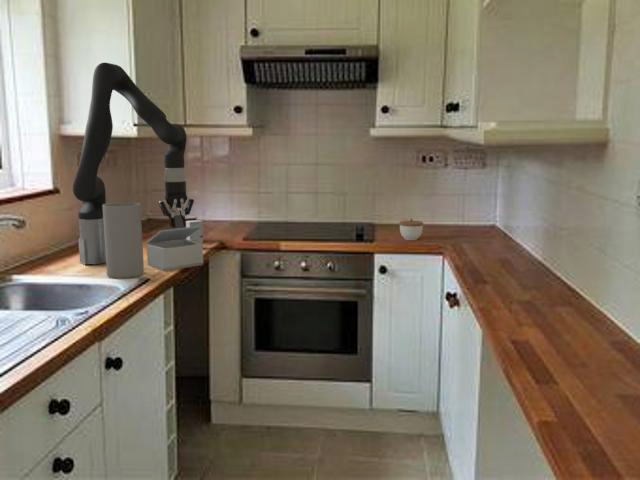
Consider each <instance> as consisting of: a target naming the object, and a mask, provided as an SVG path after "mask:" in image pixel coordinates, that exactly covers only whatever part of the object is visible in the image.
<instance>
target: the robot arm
mask: <svg viewBox="0 0 640 480" xmlns="http://www.w3.org/2000/svg"><path fill="white" fill-rule="evenodd" d="M94 68H95V69H94V70H93V75H92V83H91V84H92V86H91V97H90V103H89V109H88V115H87V120H86V121H87V122H86V125H85V131H84V137H83V143H82V148H81V154H80V157H79V158H80V159H79V164H78V168H77V170H76V174H75V178H74V181H73V185H72V192H73V195H74V197H75V198H76V199H77V200H78V201H80V202H82V205H81V207H80V209H79V210H78V213H77V214H78V226H79V227H78V229H79V238H78V241H77V242H78V254H79V263H80V262H82V263H84V264H93V265H101V263H102V264H105V263H106V251H105V236H104V220H103V204H107V202H106V201H107V200H106V198H107V197H106V187H105V183H104V181H103V179H102V178H100V176H98V173H99V172H98V171H99V167H100V164H101V162H102V161H103V159H104V156H105V155H106V153H107V151H108V149H109V148H110V147H109V146H110V144H111V140H112V135H113V129H114V128H113V126H114V124H113V120H112V119H113V118H112V114H111V98H112V94H113V91H115V92H117V93H118V94H120V95H121V96H122V97H124V98H125V100H127V101H128V103H130V105H131V107H132V109H133V110H134V112H135V113H136V114H137V115H138V117H140V119H142V120H143V122H145V123H146V124H147V125H148V126H149V127H150V128H151V129H152V131H153V132H154V133H155V135H156V136H157V137H158V139H160V141H162V142H163V143H164V144H166V145H168V150H167V151H166V152H165V153H164V178H163V179H164V190H165V191H164V192H165V196H164V199H163V200H158V202H157V203H158V206H159V208H160V210H161V212H162V214H163V216H165V217H168V222H169V223H168V225H169V227H170V228H171V229H175V218H174V216H175V213H176V210H177V211H178V213H179V214H178V215H181V217H182V221H183V225H185V217H187V216H189V215H190V213H191V211H192V208H193V205H194V202H195V200H194V199H193V198H189V197H188V195H187V179H186V175H187V174H186V169H185V168H186V167H185V152H186V146H187V132H186V130H185V128H184V127H183V126H182V125H180V124H172V123H171V122H170V121H168V119H167V115H166V113H164V111H163V110H162V109H161V108H160V107H158V106H157V105H156V104H155V103H154V102H153V101H152V100H151V99H149V97H147V96H146V94H145V93H144V92H143V91H142V90H141V89H140V88H139V87H138V86H137V84H136V83H135V82H134V81H133V80H132V78H131V77H130V76H129V74H128V73H127V72H126V71H125V70H124V68H122V66H120V65H118V64H114V63H111V62H110V63H109V62H101V63H99V64H98V65H97V66H95V67H94ZM185 204H186V205H185ZM166 205H167V206H168V208H167V206H166ZM82 263H81V264H82ZM84 264H83V265H84Z"/></svg>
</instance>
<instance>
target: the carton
mask: <svg viewBox="0 0 640 480" xmlns="http://www.w3.org/2000/svg"><path fill="white" fill-rule="evenodd" d="M145 246H146V259H147V260H146V262H147V263H146V265H148V266H149V267H152V268H155V269H157V270H160V271H163V272H165V271H167V272H168V271H173V270H179V269H180V270H181V269H186V268H194V267H198V266H204V243H203V244H200V243H197V242H193V241H190V240H186V239H183V240H172V241H164V242H156V243H148V244H146V245H145Z"/></svg>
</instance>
